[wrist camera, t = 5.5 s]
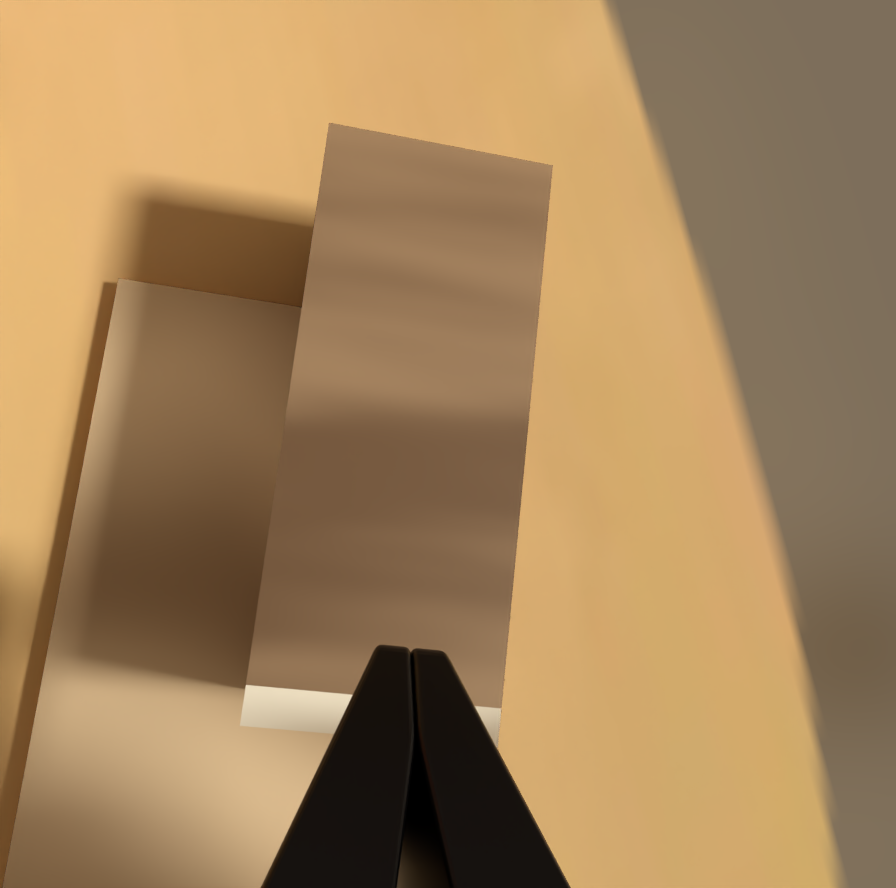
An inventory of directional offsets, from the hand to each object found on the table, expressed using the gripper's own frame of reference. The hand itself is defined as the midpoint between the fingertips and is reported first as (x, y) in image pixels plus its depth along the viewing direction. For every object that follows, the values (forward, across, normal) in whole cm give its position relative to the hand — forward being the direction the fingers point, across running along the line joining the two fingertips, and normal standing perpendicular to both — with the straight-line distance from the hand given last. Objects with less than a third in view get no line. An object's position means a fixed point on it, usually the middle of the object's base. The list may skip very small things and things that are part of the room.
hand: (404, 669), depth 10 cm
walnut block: (+3, 0, +5) cm, 5 cm away
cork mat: (+5, +2, +6) cm, 8 cm away
